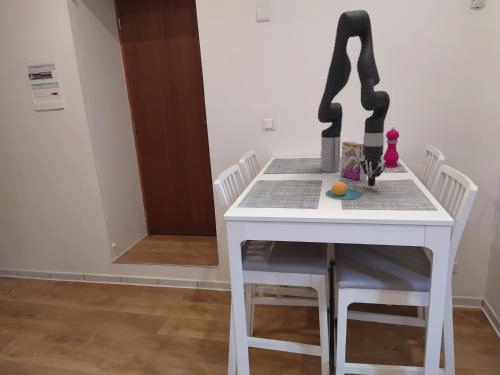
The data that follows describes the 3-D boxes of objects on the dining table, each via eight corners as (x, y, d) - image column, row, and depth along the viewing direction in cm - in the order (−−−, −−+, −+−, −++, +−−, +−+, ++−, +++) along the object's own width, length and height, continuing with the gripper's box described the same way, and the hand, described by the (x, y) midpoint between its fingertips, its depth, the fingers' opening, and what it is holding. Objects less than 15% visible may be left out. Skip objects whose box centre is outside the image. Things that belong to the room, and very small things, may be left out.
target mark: (319, 191, 139) (319, 191, 139) (348, 186, 143) (348, 186, 143) (337, 201, 126) (337, 201, 126) (369, 196, 130) (369, 195, 130)
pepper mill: (399, 167, 167) (402, 127, 162) (384, 168, 169) (386, 127, 163) (396, 164, 174) (399, 125, 168) (381, 164, 176) (384, 126, 170)
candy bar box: (340, 176, 159) (341, 141, 154) (348, 174, 161) (349, 140, 157) (359, 181, 150) (360, 144, 145) (367, 179, 152) (368, 143, 147)
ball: (328, 192, 135) (331, 179, 133) (340, 193, 136) (343, 180, 135) (334, 197, 129) (337, 183, 128) (347, 198, 131) (350, 184, 129)
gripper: (355, 142, 137) (353, 183, 142) (376, 147, 125) (374, 191, 130) (370, 140, 140) (368, 180, 145) (393, 145, 127) (390, 188, 132)
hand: (371, 185), depth 137 cm, fingers closed
